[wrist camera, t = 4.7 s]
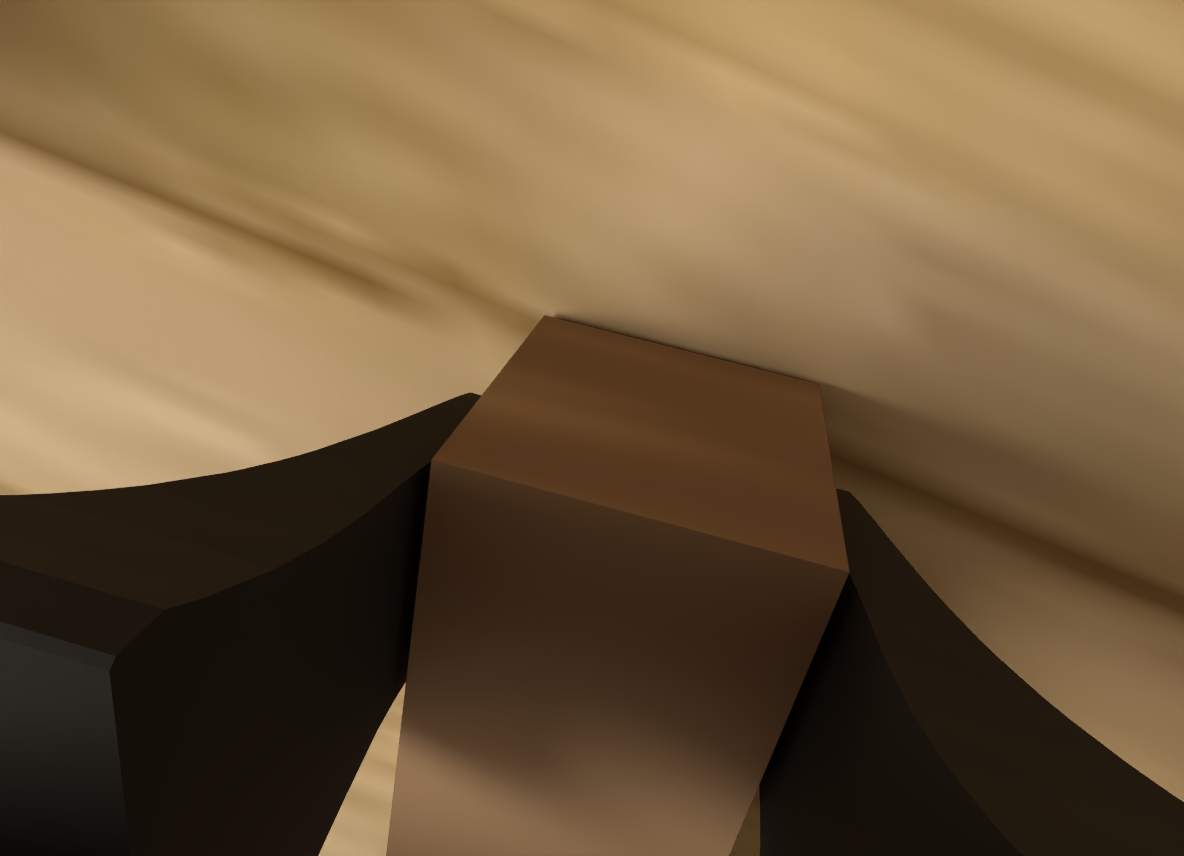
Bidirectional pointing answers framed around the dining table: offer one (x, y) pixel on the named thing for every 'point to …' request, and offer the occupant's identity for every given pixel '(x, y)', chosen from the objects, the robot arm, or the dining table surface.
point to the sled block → (613, 602)
